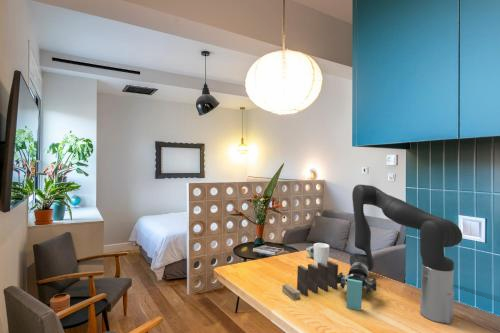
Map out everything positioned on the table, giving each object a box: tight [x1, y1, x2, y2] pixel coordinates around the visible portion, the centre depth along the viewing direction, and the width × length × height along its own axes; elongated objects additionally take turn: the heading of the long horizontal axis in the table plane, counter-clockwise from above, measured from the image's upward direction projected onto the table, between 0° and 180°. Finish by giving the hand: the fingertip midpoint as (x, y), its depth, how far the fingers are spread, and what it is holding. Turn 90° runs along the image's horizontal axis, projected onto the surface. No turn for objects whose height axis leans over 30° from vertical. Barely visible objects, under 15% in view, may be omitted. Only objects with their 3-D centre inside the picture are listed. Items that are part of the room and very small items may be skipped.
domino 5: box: [345, 279, 363, 312], centre depth 106 cm, size 2×5×10 cm, turn 66°
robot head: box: [305, 245, 314, 259], centre depth 160 cm, size 8×4×7 cm, turn 72°
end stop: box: [281, 283, 301, 301], centre depth 116 cm, size 3×8×2 cm, turn 26°
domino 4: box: [327, 260, 339, 290], centre depth 124 cm, size 2×5×10 cm, turn 26°
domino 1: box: [296, 264, 309, 296], centre depth 118 cm, size 2×5×10 cm, turn 25°
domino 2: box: [307, 263, 319, 294], centre depth 120 cm, size 2×5×10 cm, turn 26°
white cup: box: [313, 242, 330, 267], centre depth 151 cm, size 8×8×10 cm
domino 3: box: [317, 262, 329, 292], centre depth 122 cm, size 2×5×10 cm, turn 26°
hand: (355, 288), depth 109 cm, fingers open, 8 cm apart
